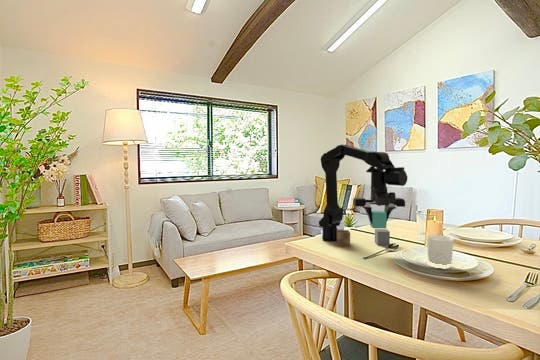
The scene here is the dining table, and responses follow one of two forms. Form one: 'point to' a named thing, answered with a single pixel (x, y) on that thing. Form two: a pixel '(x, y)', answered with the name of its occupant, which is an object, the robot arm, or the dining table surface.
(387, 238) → the grey block
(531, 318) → the dining table surface
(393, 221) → the dining table surface
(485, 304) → the dining table surface
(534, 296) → the dining table surface
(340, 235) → the walnut block
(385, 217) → the teal block
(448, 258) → the white cup
